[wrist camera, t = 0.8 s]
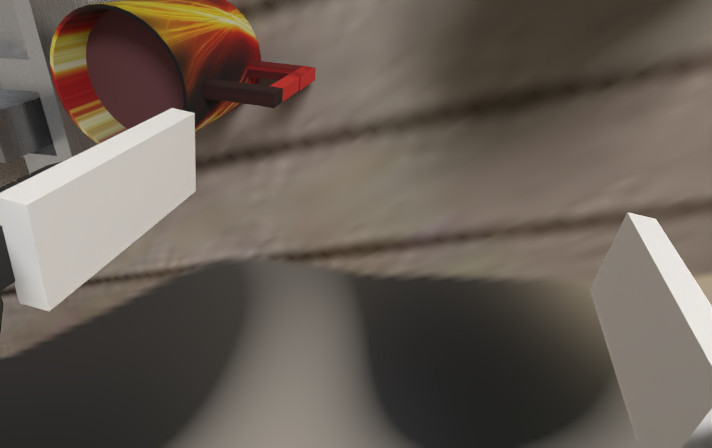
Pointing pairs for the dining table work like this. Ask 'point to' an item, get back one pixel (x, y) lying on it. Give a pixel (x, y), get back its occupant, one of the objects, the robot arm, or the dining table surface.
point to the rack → (34, 86)
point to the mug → (161, 64)
